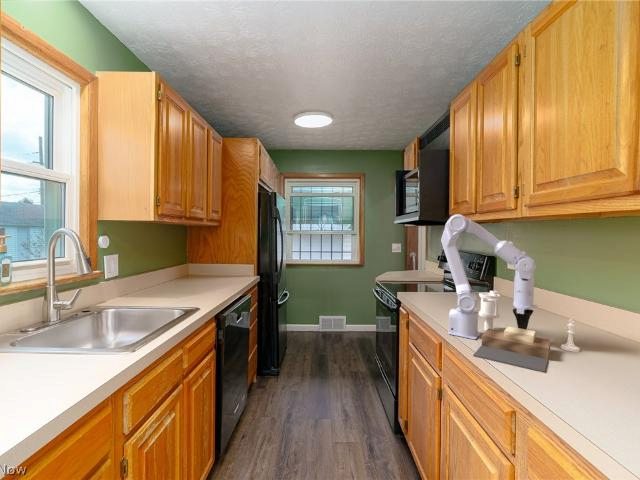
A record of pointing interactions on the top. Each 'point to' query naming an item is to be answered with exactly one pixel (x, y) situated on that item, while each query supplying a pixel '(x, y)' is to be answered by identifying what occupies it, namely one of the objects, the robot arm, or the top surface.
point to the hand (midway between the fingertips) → (522, 330)
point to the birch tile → (519, 334)
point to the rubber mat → (512, 358)
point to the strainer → (489, 308)
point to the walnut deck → (516, 344)
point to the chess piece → (570, 339)
